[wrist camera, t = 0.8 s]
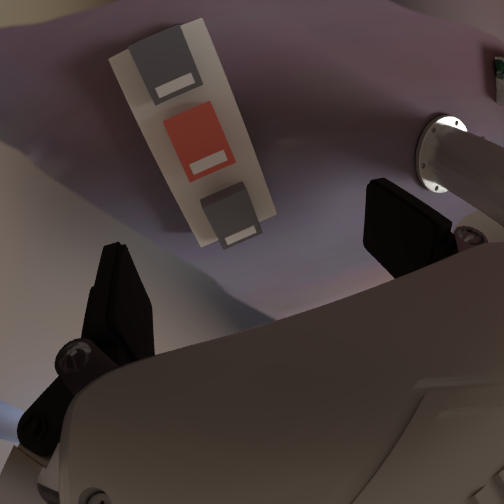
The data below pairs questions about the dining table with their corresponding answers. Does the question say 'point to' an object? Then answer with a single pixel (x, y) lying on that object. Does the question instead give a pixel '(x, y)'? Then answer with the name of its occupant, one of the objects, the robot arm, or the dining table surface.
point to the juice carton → (499, 79)
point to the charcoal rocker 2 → (231, 215)
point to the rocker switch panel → (211, 90)
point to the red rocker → (199, 141)
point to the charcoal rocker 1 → (166, 64)
